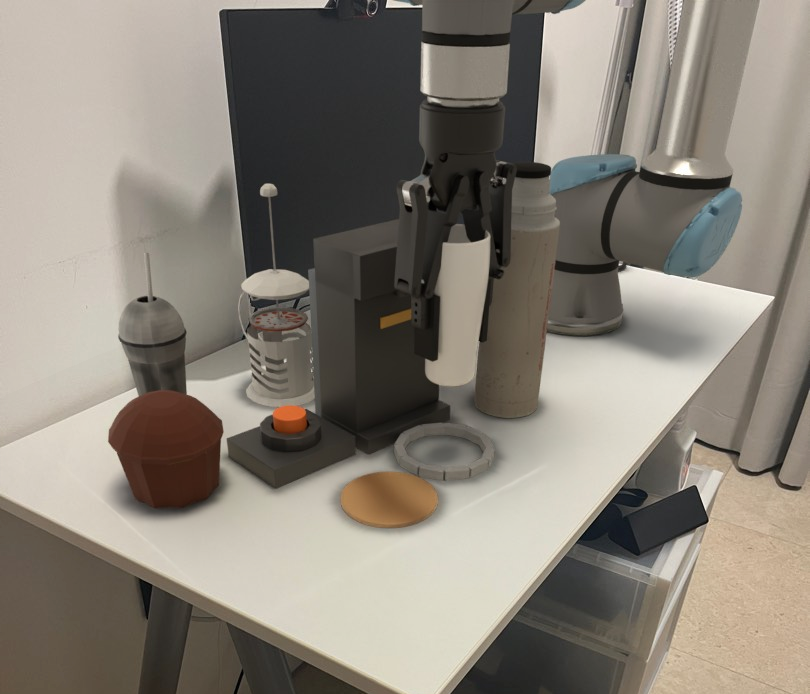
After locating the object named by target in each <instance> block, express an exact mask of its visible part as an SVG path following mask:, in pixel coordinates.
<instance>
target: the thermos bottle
mask: <svg viewBox="0 0 810 694" xmlns="http://www.w3.org/2000/svg"><path fill="white" fill-rule="evenodd" d="M510 163H511V164H515V165H516V167H517V172H516V176H515V180H514V184H513V189H512V218H511V260H510V264H509V265H508V266H507V267H501V268H500V269H501V270H504V274H503V277H502V278H501V279H495V278H494V284H493V295H492V296H493V297H492V303H491V306H489V318H488V332H487V341H485V342H478V349H477V356H476V369H475V385H474V398H473V399H474V400H473V402H474V406H475V407H476V408H477V410H478V411H480V412H482V413H484V414H486V415H488V416H492V417H496V418H503V419H517V418H523V417H527V416H529V415H531V414H533V413H534V412H535V411H536V410H537V409H538V406H539V399H540V390H541V381H542V375H543V374H542V373H543V366H544V357H545V349H546V341H547V333H548V331H547V323H548V316H549V309H550V301H551V293H552V285H553V277H554V269H555V260H556V252H557V244H558V236H559V228H560V221H559V220H558V219H557V218H555V217H554V215H555V211H556V210H557V208H556V199H555V198H554V197H553V196H552V195H550V194H549V189H550V180H549V179H550V175H551V170H552V166H551V165H549V164H545V163H542V162H535V161H513V162H510ZM496 252H499V250H498V249H497V251H496Z"/></svg>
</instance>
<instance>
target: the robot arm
mask: <svg viewBox="0 0 810 694" xmlns="http://www.w3.org/2000/svg"><path fill="white" fill-rule="evenodd" d="M393 1H394V2H399V3H405V4H409V5H410V6H413V7H416V6H418V7H419V6H421V7H422V9H421V11H422V13H421V15H422V18H421V21H422V22H421V24H422V25H421V42H420V44H421V47H420V50H421V51H420V89H419V90H420V92H421V93H422V94H423V95H424V97H426V99H424V100H423V101H422V102H421V103H420V104H419V124H418V125H419V126H418V128H419V129H418V130H419V131H418V133H419V134H418V141H419V144H420V146H421V148H422V149H423V153H424V160H423V163H422V167H421V170H420V174H419V175H418V176H417V177H415V178H413V179H412V180H406V179H405V180H404V179H400V180H399V181H397V184H396V194H397V199H398V205H399V216H398V219H399V227H398V241H397V254H396V268H395V281H394V287H395V289H396V290H399V291H401V292H404V293H406V294H409V295H411V323H412V326H413V327H415V335H414V354H416V355H419V356H421V357H423V358H425V359H427V360H430V361H432V362H433V361H436V360H438V343H439V317H440V296H437V295H434V291H435V287H436V283H437V280H438V276H439V272H440V268H441V260H442V246H443V243H444V242H448V238H449V234H450V231H451V227H452V226H454V225H455V224H458V219H459V216H460V213H461V214H462V219H463V224H464V225H465V230H466V235H467V238H468V239H469V240H470V242H477V241H481V240H483V239H485V231H488V232H489V233H490V235H491V241H490V266H489V277H488V284H487V291H486V297H485V304H484V310H483V316H482V323H481V329H480V336H479V342H485V341H487V332H488V318H489V306H491V303H492V297H493V296H492V295H493V284H494V278H495V279H501V278H502V277H503V274H504V270H501V269H500V268H501V267H507V266H508V265H509V264H510V260H511V218H512V189H513V184H514V180H515V176H516V172H517V167H516V165H515V164H511V163H512V162H506V161H502V160H497V158H496V154H495V152H496V151H497V150H499V149H500V148H501V147H502V145H503V142H504V141H503V140H504V131H505V130H504V129H505V114H506V106H505V105H504V103H503V102H502V101H500V98H503V97H504V96H505V95H507V93H508V80H509V79H508V78H509V67H510V65H509V63H510V49H511V46H510V45H511V27H512V17H513V15H529V14H543V13H546V14H549V13H551V14H552V15H558V14H560V13H561V12H563V11H567V10H573V9H575V8H577V7H579V6H581V5H582V4H584V3H585V2H586V1H587V0H393ZM760 3H761V0H682V5H681V10H680V15H679V21H678V26H677V32H676V38H675V43H674V49H673V53H672V59H671V64H670V68H669V69H670V70H669V75H668V79H667V86H666V91H665V96H664V102H663V107H662V113H661V118H660V124H659V130H658V134H657V139H656V145H655V148H654V150H653V151H652V152H651V153H650V154H649V155H647V156H646V157H645V158H644V159H643V160H642V161H641V163H640V168H639V171H638V170H637V171H636V169H637V167H638V164H637V159H636V157H635V156H631V155H629V154H622V153H621V154H620V153H618V154H617V153H605V154H604V153H602V154H588V155H580V156H579V155H578V156H572V157H568V158H563V159H561V160H559V161H557V162H556V163H555V164H554V165H553V166H552V167H551V175H550V176H549V180H550V189H549V194H550V195H552V196H553V197H554V198H555V199H556V208H557V210H556V211H555V215H554V217H555V218H557V219H558V220H559V221H560V228H559V236H558V244H557V252H556V260H555V269H554V277H553V285H552V293H551V301H550V309H549V316H548V323H547V332H549V333H555V334H560V335H565V336H566V335H567V336H596V335H603V334H606V333H611V332H613V331H615V330H616V329H618V328H619V327H620V326H621V325H622V321H623V315H624V305H623V300H622V292H621V285H620V278H619V271H621V270H623V269H625V268H626V267H627V265H628V264H631V265H635V266H639V267H642V268H646V269H650V270H654V271H657V272H661V273H663V274H664V275H668V276H673V275H674V276H679V277H683V278H684V277H685V278H698V277H701V276H702V275H704V274H706V273H708V272H709V271H710V270H711V269H712V268H713V267H714V266H715V265H716V264H717V262H718V261H719V260H720V258H721V257H722V256H723V254H724V253H725V251H726V250H727V248H728V246H729V244H730V243H731V240H732V239H733V236H734V235H735V232H736V229H737V228H738V224H739V221H740V219H741V215H742V210H743V204H742V202H743V195H742V194H741V192H740V191H739V190H737V189H736V188H735V187H731V182H732V178H733V175H734V168H733V166H732V165H731V163H730V162H729V161H728V159H727V157H726V150H727V146H728V142H729V137H730V133H731V128H732V124H733V120H734V115H735V112H736V107H737V104H738V103H737V102H738V99H739V93H740V89H741V85H742V81H743V76H744V72H745V68H746V64H747V59H748V56H749V51H750V47H751V43H752V39H753V34H754V29H755V24H756V20H757V16H758V12H759V7H760ZM438 211H439V212H438ZM442 212H443V213H442ZM497 249H498V250H499V252H496V251H497ZM620 262H622V264H620ZM422 280H423V281H424V283H421V282H422ZM479 342H478V343H479Z"/></svg>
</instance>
